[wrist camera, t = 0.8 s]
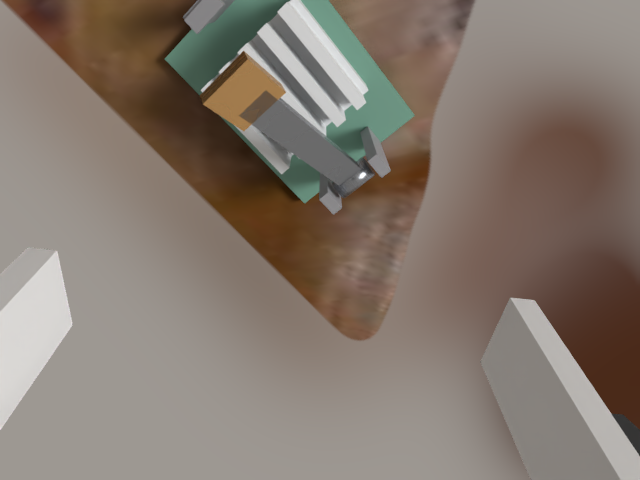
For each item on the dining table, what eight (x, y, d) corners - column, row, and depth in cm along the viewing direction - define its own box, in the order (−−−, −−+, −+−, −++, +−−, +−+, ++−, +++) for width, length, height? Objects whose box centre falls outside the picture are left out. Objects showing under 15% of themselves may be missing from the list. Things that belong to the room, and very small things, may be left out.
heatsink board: (168, 57, 34) (128, 74, 27) (279, -65, 30) (266, -82, 23) (304, 198, 40) (300, 242, 33) (412, 112, 36) (433, 141, 29)
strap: (197, 90, 22) (205, 110, 21) (241, 45, 21) (250, 64, 20) (337, 187, 34) (346, 202, 33) (370, 161, 32) (380, 176, 32)
